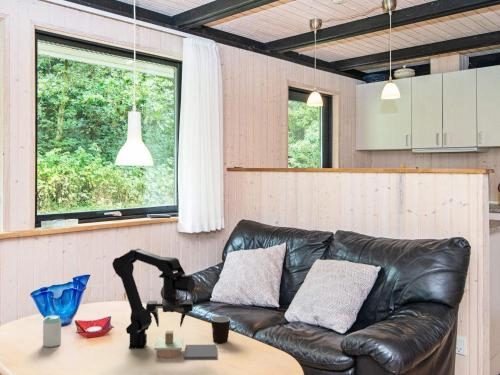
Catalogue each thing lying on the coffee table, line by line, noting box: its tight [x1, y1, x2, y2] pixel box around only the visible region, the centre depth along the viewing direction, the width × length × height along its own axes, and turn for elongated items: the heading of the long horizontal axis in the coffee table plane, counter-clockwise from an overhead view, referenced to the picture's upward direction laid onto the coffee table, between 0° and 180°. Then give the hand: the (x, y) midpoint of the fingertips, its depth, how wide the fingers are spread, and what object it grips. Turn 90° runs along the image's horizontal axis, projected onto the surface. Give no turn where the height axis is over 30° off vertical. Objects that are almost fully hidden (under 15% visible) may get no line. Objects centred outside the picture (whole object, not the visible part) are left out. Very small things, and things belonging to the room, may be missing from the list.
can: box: [42, 314, 62, 348], centre depth 203 cm, size 7×7×12 cm
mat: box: [183, 344, 218, 360], centre depth 198 cm, size 13×13×1 cm
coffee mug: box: [210, 315, 231, 345], centre depth 214 cm, size 12×9×10 cm
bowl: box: [155, 350, 182, 359], centre depth 197 cm, size 10×10×4 cm
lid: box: [153, 330, 184, 351], centre depth 197 cm, size 11×11×5 cm
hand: (169, 326), depth 197 cm, fingers open, 9 cm apart
